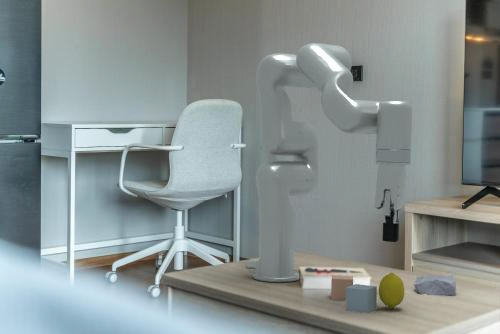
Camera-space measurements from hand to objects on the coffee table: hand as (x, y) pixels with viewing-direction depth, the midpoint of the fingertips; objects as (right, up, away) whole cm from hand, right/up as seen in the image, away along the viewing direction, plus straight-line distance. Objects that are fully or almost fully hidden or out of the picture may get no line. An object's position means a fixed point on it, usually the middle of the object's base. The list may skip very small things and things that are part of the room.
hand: (390, 241), depth 162 cm
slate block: (-7, -15, -1) cm, 16 cm away
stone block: (+15, -15, +21) cm, 30 cm away
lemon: (0, -15, 0) cm, 15 cm away
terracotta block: (-9, -15, +11) cm, 21 cm away
